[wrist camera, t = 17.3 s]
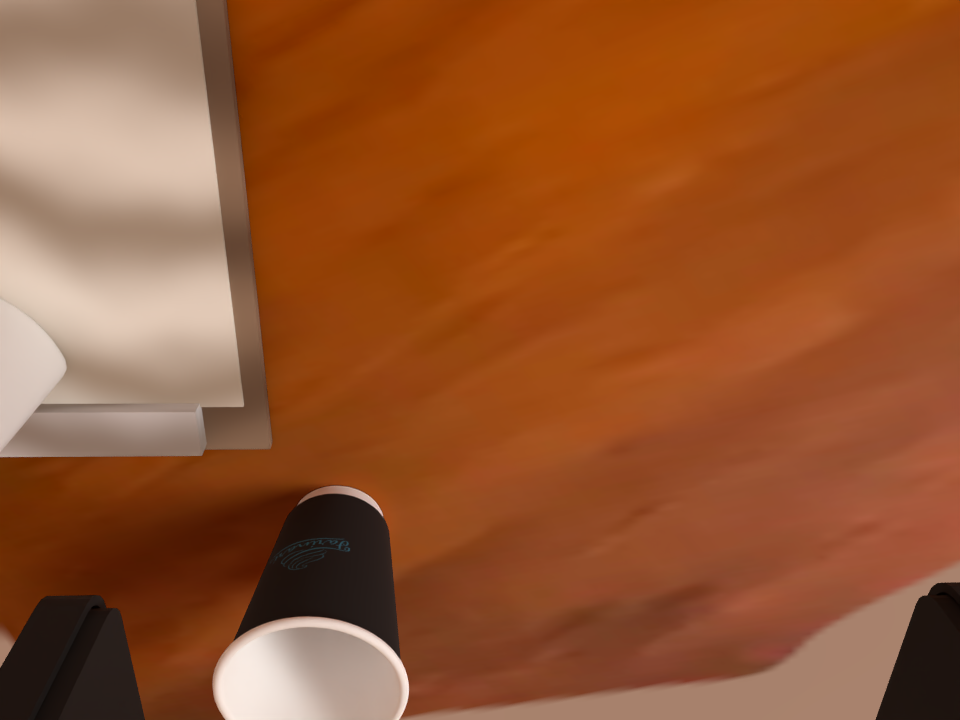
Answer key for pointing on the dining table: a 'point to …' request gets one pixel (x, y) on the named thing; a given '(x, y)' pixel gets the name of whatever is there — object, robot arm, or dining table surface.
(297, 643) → the dixie cup
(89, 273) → the clipboard
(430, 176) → the dining table surface
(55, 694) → the robot arm
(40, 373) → the eye dropper bottle
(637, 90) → the dining table surface
